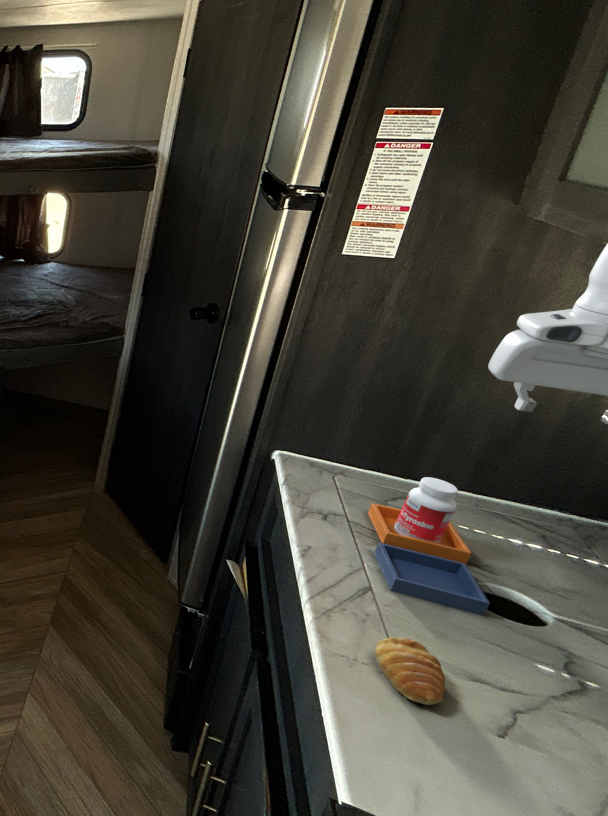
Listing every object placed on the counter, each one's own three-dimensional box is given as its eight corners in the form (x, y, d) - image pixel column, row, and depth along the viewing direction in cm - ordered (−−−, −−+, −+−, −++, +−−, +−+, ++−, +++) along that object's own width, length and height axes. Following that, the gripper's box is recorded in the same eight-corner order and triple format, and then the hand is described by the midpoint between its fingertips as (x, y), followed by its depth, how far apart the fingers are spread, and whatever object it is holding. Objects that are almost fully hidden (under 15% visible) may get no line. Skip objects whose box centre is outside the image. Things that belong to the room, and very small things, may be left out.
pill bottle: (384, 529, 115) (407, 478, 111) (406, 522, 117) (429, 472, 113) (424, 550, 110) (449, 497, 105) (447, 543, 112) (472, 491, 107)
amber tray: (444, 531, 115) (450, 520, 114) (466, 564, 107) (471, 553, 106) (367, 513, 120) (372, 502, 119) (382, 544, 112) (387, 533, 111)
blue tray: (458, 574, 105) (464, 563, 104) (483, 615, 97) (490, 603, 96) (373, 553, 110) (378, 542, 109) (390, 590, 101) (395, 578, 100)
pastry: (455, 718, 80) (467, 697, 79) (388, 698, 83) (398, 677, 82) (427, 663, 88) (437, 643, 87) (367, 646, 91) (376, 627, 90)
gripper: (705, 336, 87) (653, 423, 93) (505, 313, 96) (468, 394, 102) (738, 351, 82) (681, 442, 88) (524, 325, 91) (484, 410, 97)
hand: (565, 416), depth 95 cm, fingers open, 8 cm apart
